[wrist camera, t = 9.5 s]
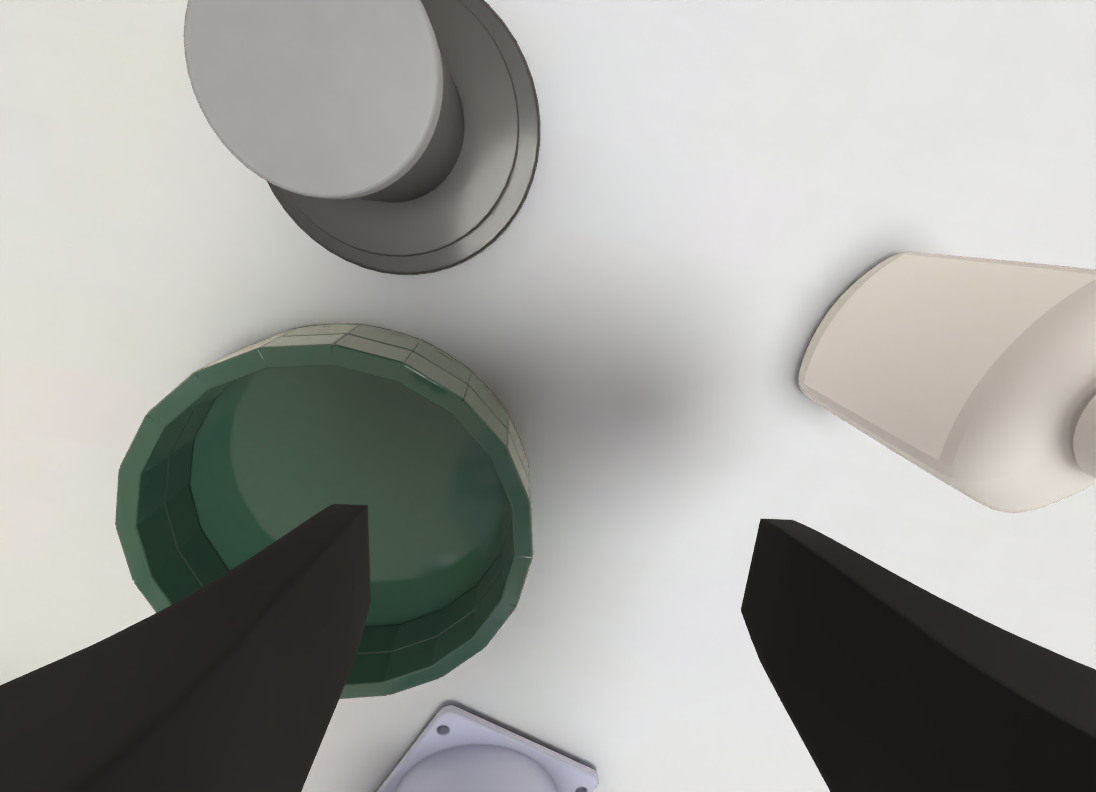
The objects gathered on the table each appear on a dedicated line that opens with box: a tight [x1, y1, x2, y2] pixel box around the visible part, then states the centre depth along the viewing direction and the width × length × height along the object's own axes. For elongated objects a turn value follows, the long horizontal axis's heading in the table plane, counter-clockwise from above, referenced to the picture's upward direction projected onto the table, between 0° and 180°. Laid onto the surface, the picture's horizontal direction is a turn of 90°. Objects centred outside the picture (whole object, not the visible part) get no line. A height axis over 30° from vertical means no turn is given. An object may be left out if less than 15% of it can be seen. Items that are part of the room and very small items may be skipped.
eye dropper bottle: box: [799, 252, 1096, 513], centre depth 13 cm, size 4×6×12 cm
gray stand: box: [267, 0, 540, 275], centre depth 15 cm, size 8×8×2 cm
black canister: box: [184, 0, 464, 203], centre depth 12 cm, size 4×4×6 cm
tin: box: [115, 324, 533, 699], centre depth 18 cm, size 12×12×3 cm
